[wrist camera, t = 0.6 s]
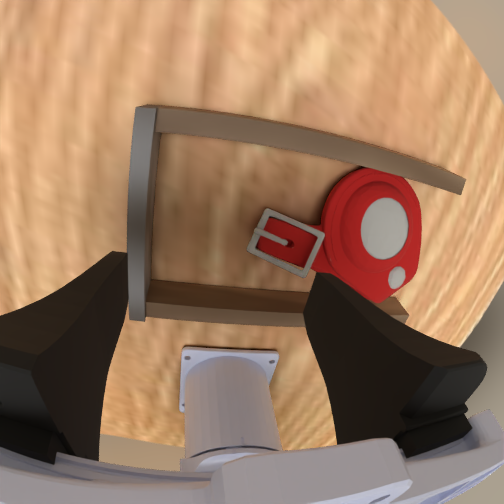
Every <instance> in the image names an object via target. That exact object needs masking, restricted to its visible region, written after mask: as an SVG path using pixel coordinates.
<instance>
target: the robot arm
mask: <svg viewBox="0 0 504 504" xmlns="http://www.w3.org/2000/svg"><path fill="white" fill-rule="evenodd" d="M128 300H129V291H128V253H124V252H115V251H112V252H110V253H109V254H107V255H106V256H105V257H104V258H102V259H101V260H100V261H98V262H97V263H96V264H94V265H93V266H92V267H90V268H89V269H88V270H86V271H85V272H84V273H83V274H81V275H80V276H78V277H77V278H75V279H74V280H72V281H71V282H69V283H68V284H66V285H65V286H64V287H62V288H60V289H59V290H57V291H55V292H54V293H52V294H50V295H48V296H46V297H44V298H43V299H41V300H38V301H36V302H34V303H32V304H30V305H27V306H25V307H23V308H21V309H18V310H15V311H13V312H10V313H7V314H4V315H1V316H0V504H443V503H445V502H447V501H449V500H451V499H453V498H455V497H456V496H458V495H460V494H462V493H463V492H465V491H467V490H469V489H470V488H472V487H474V486H475V485H477V484H478V483H479V482H481V481H482V480H484V479H485V478H486V477H488V476H489V475H490V474H492V473H493V472H494V471H495V470H497V469H498V468H499V467H500V466H502V465H503V464H504V431H503V429H502V428H501V426H500V424H499V423H498V422H497V420H496V418H495V416H494V415H493V413H492V412H491V410H490V409H487V410H485V411H482V412H480V413H477V414H475V415H473V416H472V417H470V418H469V419H467V418H466V416H465V414H464V413H466V412H467V411H468V408H467V406H466V405H465V402H466V401H467V399H468V398H469V397H470V396H471V395H472V394H473V392H474V391H475V390H476V389H477V387H478V386H479V385H480V383H481V382H482V381H483V379H484V377H485V375H486V371H487V365H486V363H485V362H484V361H483V359H482V358H481V357H480V355H478V354H477V353H476V352H473V351H469V350H466V349H462V348H459V347H455V346H452V345H449V344H447V343H444V342H441V341H439V340H436V339H434V338H431V337H429V336H427V335H425V334H423V333H421V332H418V331H416V330H414V329H412V328H410V327H409V326H407V325H405V324H403V323H402V322H400V321H398V320H397V319H395V318H393V317H392V316H390V315H388V314H387V313H386V312H384V311H383V310H381V309H380V308H378V307H377V306H375V305H374V304H373V303H371V302H370V301H369V300H367V299H366V298H365V297H363V296H362V295H361V294H359V293H358V292H357V291H355V290H354V289H353V288H351V287H350V286H349V285H347V284H346V283H345V282H343V281H342V280H341V279H339V278H338V277H336V276H335V275H333V274H331V273H323V272H317V273H316V276H315V279H314V282H313V285H312V288H311V291H310V294H309V296H308V299H307V302H306V305H305V308H304V311H303V316H304V322H305V326H306V331H307V335H308V338H309V340H310V343H311V346H312V348H313V351H314V354H315V356H316V359H317V362H318V364H319V367H320V369H321V372H322V375H323V377H324V381H325V384H326V387H327V391H328V395H329V400H330V404H331V409H332V414H333V420H334V425H335V432H336V439H337V445H333V446H326V447H318V448H310V449H301V450H290V451H288V450H285V451H283V449H282V445H281V440H280V436H279V431H278V427H277V422H276V418H275V413H274V409H273V404H272V399H271V395H270V390H269V384H270V381H271V379H272V376H273V373H274V371H275V368H276V365H277V362H278V359H279V353H278V352H277V351H260V350H234V349H215V348H200V347H184V348H183V349H182V356H181V376H180V402H179V410H180V411H181V412H183V413H185V458H184V459H180V471H165V470H154V469H145V468H136V467H129V466H123V465H116V464H110V463H104V462H99V439H100V426H101V416H102V407H103V400H104V393H105V386H106V380H107V375H108V371H109V367H110V363H111V360H112V357H113V354H114V351H115V348H116V344H117V341H118V338H119V335H120V332H121V329H122V326H123V323H124V319H125V315H126V310H127V305H128ZM186 356H189V357H186ZM270 360H271V361H270Z"/></svg>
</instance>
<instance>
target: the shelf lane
mask: <svg viewBox="0 0 504 504" xmlns="http://www.w3.org/2000/svg"><path fill="white" fill-rule="evenodd" d="M161 132H163V133H174V134H184V135H193V136H202V137H210V138H218V139H225V140H232V141H239V142H246V143H252V144H258V145H264V146H270V147H276V148H281V149H286V150H292V151H297V152H302V153H307V154H312V155H317V156H321V157H326V158H330V159H335V160H339V161H343V162H348V163H352V164H356V165H360V166H364V167H368V168H372V169H376V170H379V171H383V172H387V173H391V174H394V175H398V176H401V177H405V178H408V179H412V180H415V181H418V182H422V183H425V184H428V185H431V186H434V187H437V188H441V189H444V190H447V191H450V192H453V193H456V194H458V195H461V194H462V190H463V187H464V184H465V181H466V179H464V178H462V177H460V176H458V175H456V174H454V173H452V172H450V171H448V170H446V169H444V168H441V167H439V166H436V165H433V164H430V163H428V162H425V161H422V160H419V159H416V158H413V157H411V156H408V155H405V154H401V153H398V152H395V151H392V150H389V149H386V148H383V147H379V146H376V145H372V144H369V143H366V142H362V141H359V140H355V139H351V138H347V137H344V136H340V135H336V134H332V133H328V132H324V131H320V130H315V129H311V128H307V127H302V126H298V125H293V124H288V123H283V122H278V121H273V120H268V119H262V118H256V117H251V116H244V115H238V114H232V113H225V112H218V111H210V110H202V109H193V108H184V107H174V106H162V105H148V104H147V105H143V106H139V107H136V109H135V117H134V126H133V135H132V146H131V157H130V171H129V188H128V213H127V253H128V291H129V300H128V302H129V319H130V320H135V321H144V322H145V318H146V317H155V318H164V319H175V320H186V321H198V322H211V323H225V324H241V325H260V326H284V327H306V326H305V322H304V316H303V311H304V308H305V305H306V302H307V299H308V296H309V294H310V293H304V292H289V291H275V290H261V289H248V288H235V287H223V286H212V285H201V284H190V283H180V282H169V281H160V280H151V252H152V229H153V212H154V198H155V186H156V174H157V164H158V154H159V145H160V137H161ZM367 300H368V299H367ZM369 301H370V302H371V303H373V304H374V305H375V306H377V307H378V308H380V309H381V310H383V311H384V312H386V313H387V314H388V315H390V316H392V317H393V318H395V319H397V320H398V321H400V322H402V323H403V324H405V322H406V320H407V318H408V317H409V314H408V313H407V312H406V310H405V309H404V308H403V306H402V305H401V304H400V302H399V301H398V300H397V299H396V297H388V298H387V299H385V300H384V301H383V302H381V303H375V302H373V301H372V300H369Z"/></svg>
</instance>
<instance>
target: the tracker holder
mask: <svg viewBox="0 0 504 504" xmlns="http://www.w3.org/2000/svg"><path fill="white" fill-rule="evenodd" d="M271 217H274V218H277V219H279V220H276V219H273V218H271ZM421 231H422V223H421V209H420V205H419V201H418V198H417V196H416V194H415V192H414V190H413V189H412V187H411V186H410V185H409V183H408V182H407V181H406V180H405V179H404V178H403V177H401V176H398V175H394V174H391V173H387V172H383V171H379V170H376V169H372V168H368V167H366V168H361V169H357V170H355V171H353V172H351V173H349V174H348V175H346V176H345V177H343V178H342V179H341V180H340V181H339V182H338V183H337V184H336V185H335V186H334V188H333V189H332V191H331V192H330V194H329V196H328V198H327V200H326V202H325V205H324V208H323V212H322V216H321V224H320V225H317V226H316V225H306V224H303V223H301V222H299V221H296V220H294V219H292V218H290V217H287V216H285V215H283V214H281V213H278V212H276V211H274V210H271V209H269V208H267V209H265V210H264V213H263V215H262V217H261V219H260V221H259V223H258V225H257V227H256V228H255V229H254V234H253V236H252V238H251V240H250V242H249V244H248V246H247V252H249V253H252V254H254V255H256V256H258V257H260V258H262V259H264V260H266V261H268V262H270V263H273V264H275V265H277V266H279V267H281V268H283V269H285V270H287V271H289V272H291V273H294V274H296V275H298V276H300V277H302V278H305V277H306V276H307V274H308V272H309V270H310V268H311V269H312V270H314V271H316V272H323V273H331V274H333V275H335V276H336V277H338V278H339V279H341V280H342V281H343V282H345V283H346V284H347V285H349V286H350V287H351V288H353V289H354V290H355V291H357V292H358V293H359V294H361V295H362V296H363V297H365V298H366V299H368V300H372V301H373V302H375V303H381V302H383V301H384V300H385V299H387V298H388V297H389V296H391V295H392V294H393V293H395V292H396V291H397V290H399V289H400V288H401V287H403V286H404V285H405V284H407V283H408V282H409V281H410V280H411V279H412V278H413V277H414V275H415V274H416V271H417V268H418V262H419V255H420V247H421ZM256 248H257V249H259V250H261V251H263V252H265V253H267V254H270V255H272V256H274V257H277V258H279V259H282V260H284V261H287V262H289V263H292V264H294V265H297V266H300V267H302V268H304V269H303V270H299V269H297V268H295V267H293V266H291V265H288V264H286V263H284V262H282V261H280V260H278V259H276V258H273V257H271V256H269V255H267V254H265V253H263V252H261V251H258V250H257V249H256Z"/></svg>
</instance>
